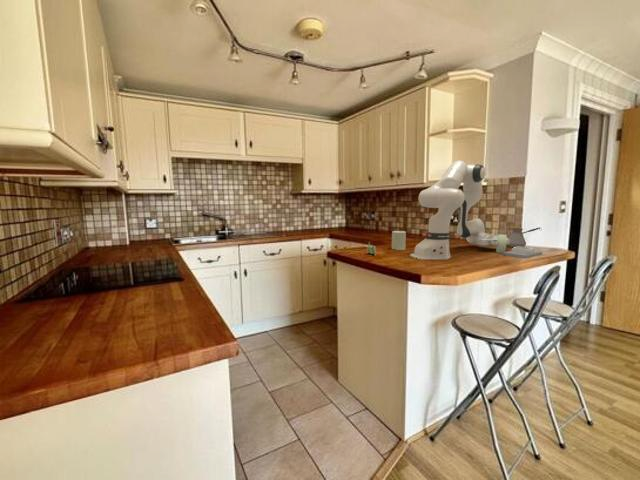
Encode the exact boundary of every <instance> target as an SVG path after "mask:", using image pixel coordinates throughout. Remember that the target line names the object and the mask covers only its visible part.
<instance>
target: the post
mask: <svg viewBox="0 0 640 480" xmlns="http://www.w3.org/2000/svg"><path fill="white" fill-rule="evenodd" d="M496 235H497V242H499V245H495V247H496V248H495V249H496V250H495V252H496V253H497V254H503V252H507V251H506V250H507V244H506V239H507V238H508V237H507V236H508V235H507V234H496Z"/></svg>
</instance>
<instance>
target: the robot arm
mask: <svg viewBox="0 0 640 480" xmlns="http://www.w3.org/2000/svg"><path fill="white" fill-rule="evenodd" d="M485 176H486V168H485V167H484V165H482V164H478V163H477V164H467V163H466V162H465V161H463V160H455V161H453V162H452V164H450V165H449V166H448V167H447V169H446V170H445V172H444V173H443V175H442V176H441V178H440V179H439V180H438V181H437V182H435V183H434V184H433V185H431V186H430V187H427V188H426V189H423V190H421V191H420V193H419V194H418V199H417V200H418V203H419V205H420V206H422V207H425V208H428V209H430V208H431V209H438V211H437V212H436V214H433V215H432V216H431V217H430V218H429V221H428V231H427V233H426V232H422V237H425V238H424V239H423V240H422V241H420V242H418V243H417V244H416V245H415V247H414V250H413V253H410V255H409V256H410V257H411V258H414V259H416V258H417V259H416V260H422V261H423V260H429V261H430V260H434V261H435V260H437V261H439V260H440V261H441V260H447V261H448V260H449V259H451V258H452V255H451V252H450V237H451V236H450V235H451V233H450V225H451V220H452V217H453V214H454V213H455V212H456V210H457V209H458V213H457V214H458V215H457V216H458V217H457V224H456V227H455V228H456V234H457V236H458V237H460V238H463V239H466V241H467V242H468V243H469V244H471V245H475V246H480V247H484V248H490V247H493V246H497V245H499V242H497V235H498V234H491V233H486V230H487V228H486V223H485V221H484V220H482V219H481V218H479V217H476V218H474V219H471V220H468V215H469V211H470V209H471V208H473V206H474V205H476V204H477V203H478V202H480V200H481V199H482V198H483V183H482V182H483V180H484V179H485ZM461 184H463V185H462V189H459V188H460V186H461ZM509 243H510V239H509V238H508V237H507V239H506V245H507V244H509Z"/></svg>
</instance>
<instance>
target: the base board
mask: <svg viewBox="0 0 640 480" xmlns="http://www.w3.org/2000/svg"><path fill="white" fill-rule="evenodd" d="M540 254H541V255H543V251H539V250H535V247H527V246H524V247H520V246H518V247H513V248H512V247H511V250H509V251H505V252H503V253H502V256H507V257H513V258H515V257H516V258H520V259H527V258H532V257H537V256H539V255H540Z"/></svg>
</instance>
